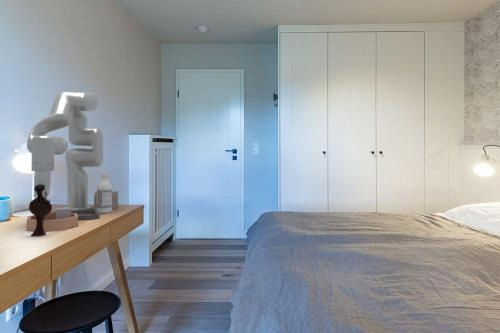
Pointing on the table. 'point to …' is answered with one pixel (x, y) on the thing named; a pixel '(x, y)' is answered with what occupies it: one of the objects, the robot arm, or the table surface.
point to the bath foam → (104, 195)
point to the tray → (85, 217)
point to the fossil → (114, 200)
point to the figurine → (39, 210)
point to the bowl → (53, 222)
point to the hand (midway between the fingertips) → (42, 213)
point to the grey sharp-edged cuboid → (63, 213)
